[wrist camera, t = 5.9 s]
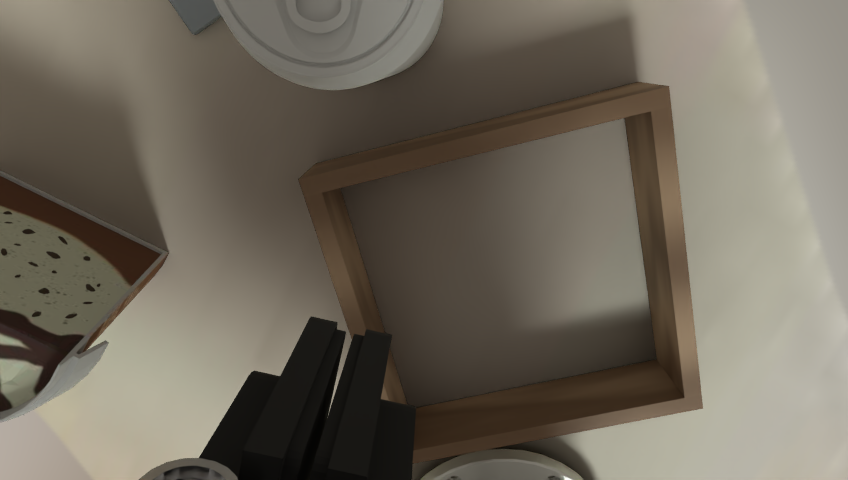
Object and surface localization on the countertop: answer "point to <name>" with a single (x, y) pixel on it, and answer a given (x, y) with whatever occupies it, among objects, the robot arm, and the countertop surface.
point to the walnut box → (563, 398)
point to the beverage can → (333, 37)
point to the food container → (59, 292)
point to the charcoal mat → (196, 13)
